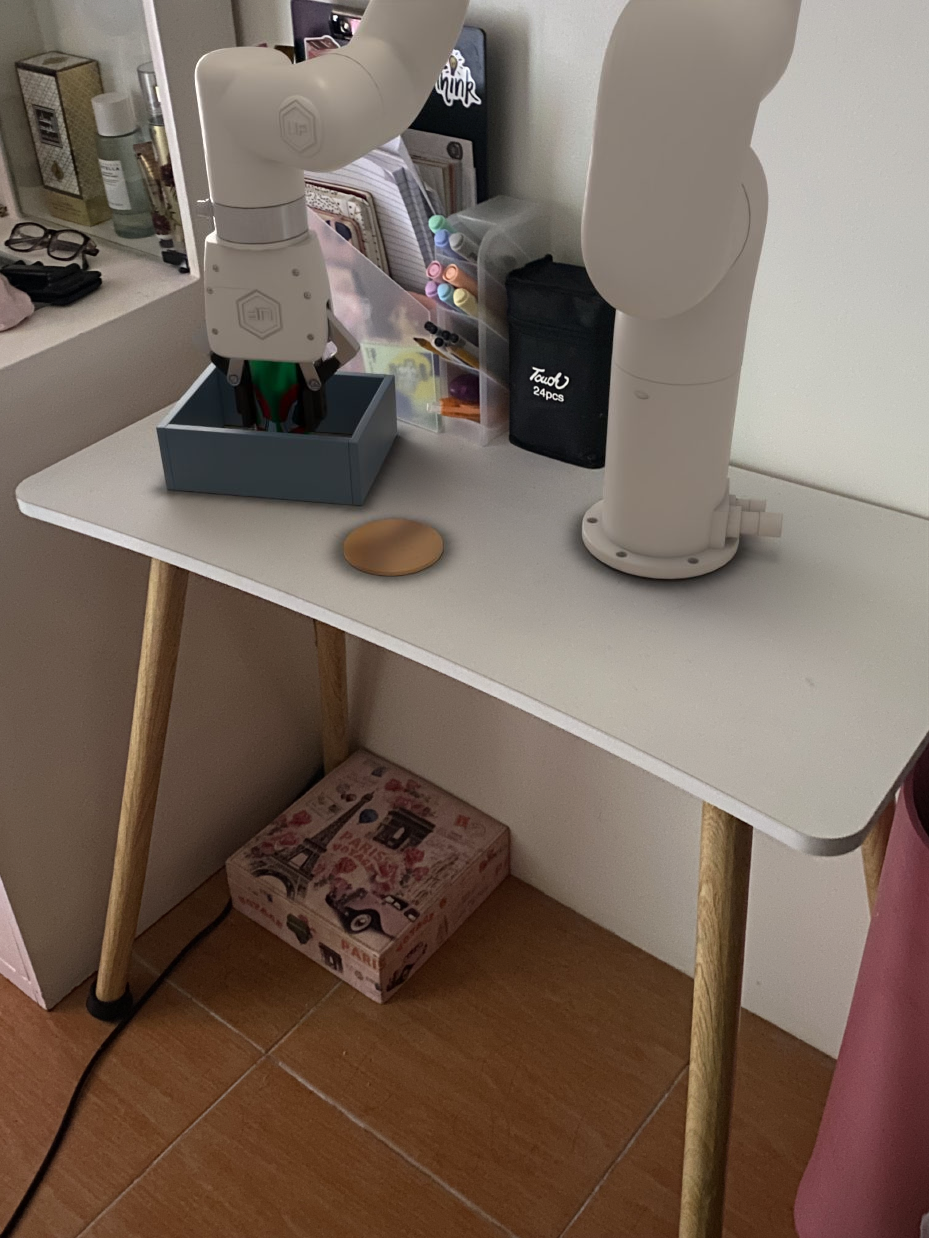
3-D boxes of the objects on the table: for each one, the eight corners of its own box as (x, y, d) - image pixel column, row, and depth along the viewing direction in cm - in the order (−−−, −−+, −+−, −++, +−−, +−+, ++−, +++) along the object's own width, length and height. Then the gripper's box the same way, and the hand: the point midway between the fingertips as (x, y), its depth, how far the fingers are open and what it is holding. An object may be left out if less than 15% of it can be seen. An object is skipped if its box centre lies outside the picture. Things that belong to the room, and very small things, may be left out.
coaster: (451, 527, 101) (451, 523, 101) (431, 580, 95) (431, 576, 94) (357, 519, 102) (357, 515, 102) (332, 570, 96) (331, 566, 96)
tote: (397, 433, 115) (394, 374, 111) (361, 506, 104) (357, 442, 101) (219, 420, 118) (211, 362, 114) (166, 489, 107) (155, 427, 103)
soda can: (320, 448, 113) (309, 324, 106) (309, 475, 108) (296, 347, 102) (267, 447, 113) (251, 323, 106) (253, 473, 109) (237, 346, 102)
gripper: (142, 228, 96) (177, 436, 107) (352, 237, 94) (366, 449, 104) (177, 200, 102) (207, 399, 113) (375, 208, 100) (386, 411, 110)
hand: (283, 421), depth 109 cm, fingers closed on soda can, 5 cm apart
